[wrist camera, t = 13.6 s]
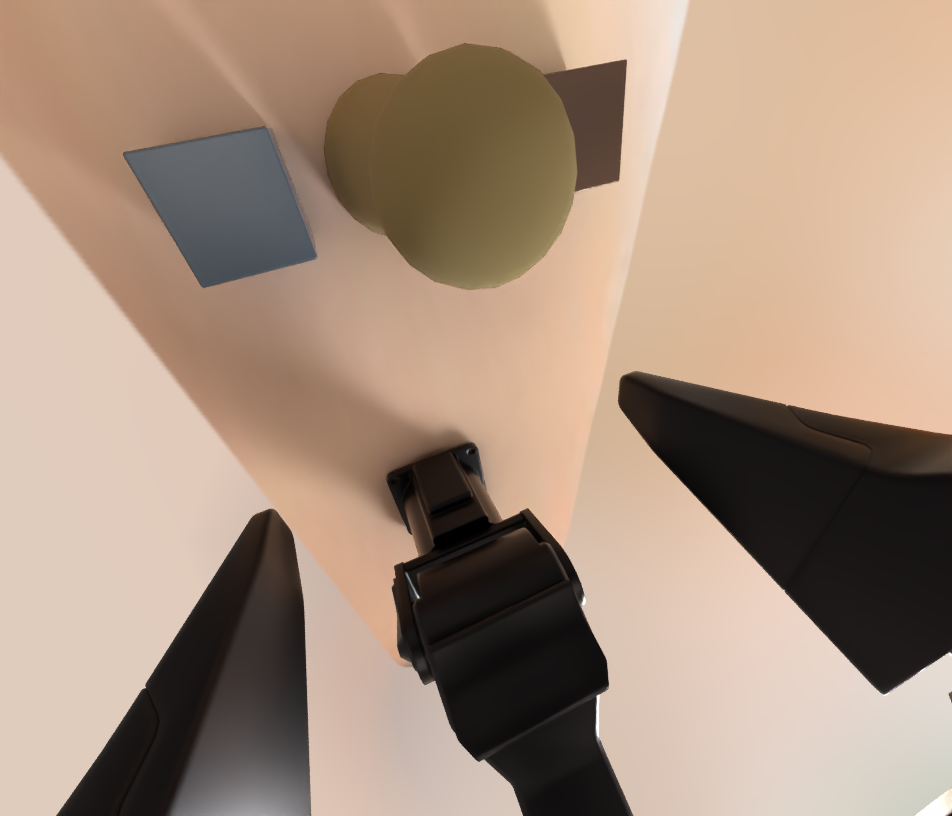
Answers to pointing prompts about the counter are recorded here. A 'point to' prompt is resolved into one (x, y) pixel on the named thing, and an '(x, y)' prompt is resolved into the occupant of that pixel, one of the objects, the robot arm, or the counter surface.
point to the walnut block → (594, 119)
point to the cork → (457, 163)
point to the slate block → (227, 203)
